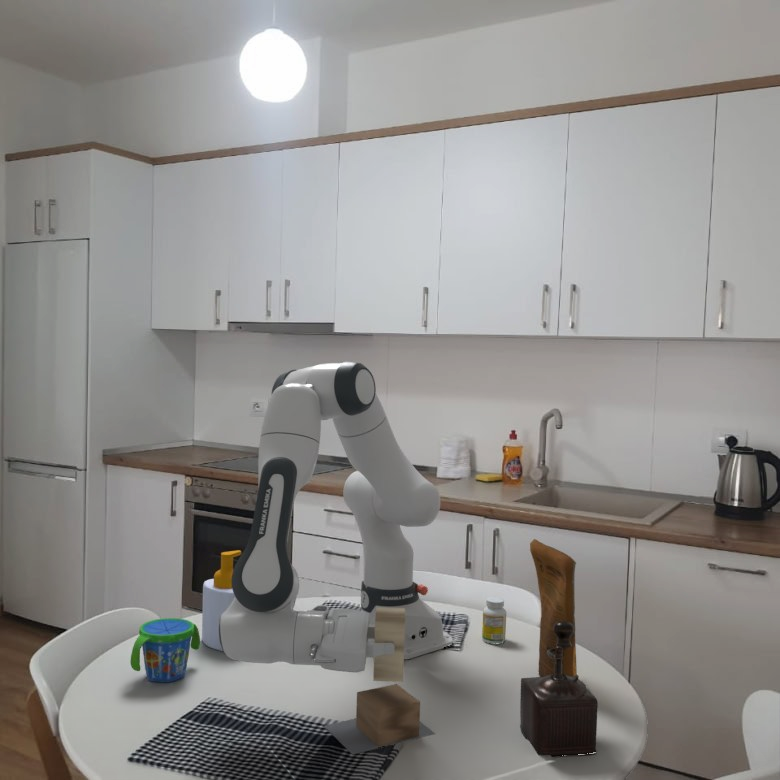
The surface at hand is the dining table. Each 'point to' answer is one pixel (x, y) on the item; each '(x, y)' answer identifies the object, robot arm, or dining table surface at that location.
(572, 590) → the pancake mix bag
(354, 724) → the mat
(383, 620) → the oak column
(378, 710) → the walnut block
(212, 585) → the soap bottle
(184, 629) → the snack cup
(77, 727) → the dining table surface
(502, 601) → the supplement bottle
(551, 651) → the manual coffee grinder
